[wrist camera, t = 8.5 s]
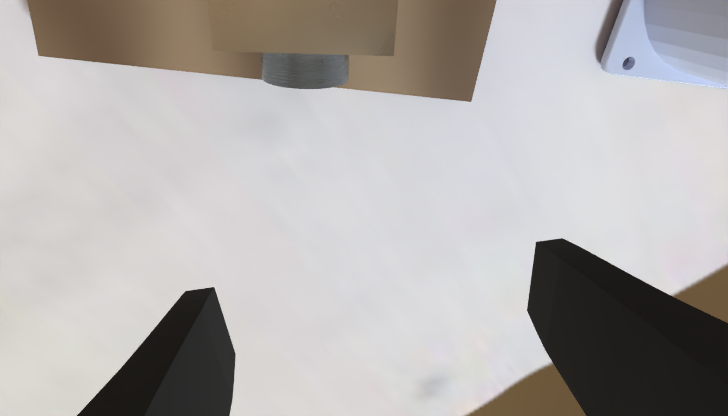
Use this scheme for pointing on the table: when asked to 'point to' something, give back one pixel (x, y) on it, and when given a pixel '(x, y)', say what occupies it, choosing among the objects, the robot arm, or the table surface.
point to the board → (195, 52)
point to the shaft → (304, 36)
